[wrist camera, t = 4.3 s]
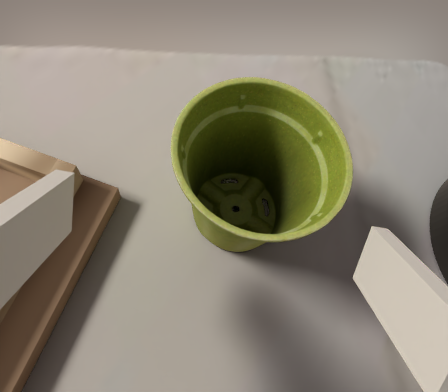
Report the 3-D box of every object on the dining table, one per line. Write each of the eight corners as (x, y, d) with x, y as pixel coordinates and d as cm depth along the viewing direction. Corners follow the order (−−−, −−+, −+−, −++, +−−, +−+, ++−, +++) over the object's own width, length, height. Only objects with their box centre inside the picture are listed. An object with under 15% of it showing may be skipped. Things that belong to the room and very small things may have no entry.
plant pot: (279, 149, 28) (321, 71, 20) (313, 263, 25) (380, 224, 17) (162, 162, 26) (158, 82, 18) (182, 288, 23) (187, 256, 15)
